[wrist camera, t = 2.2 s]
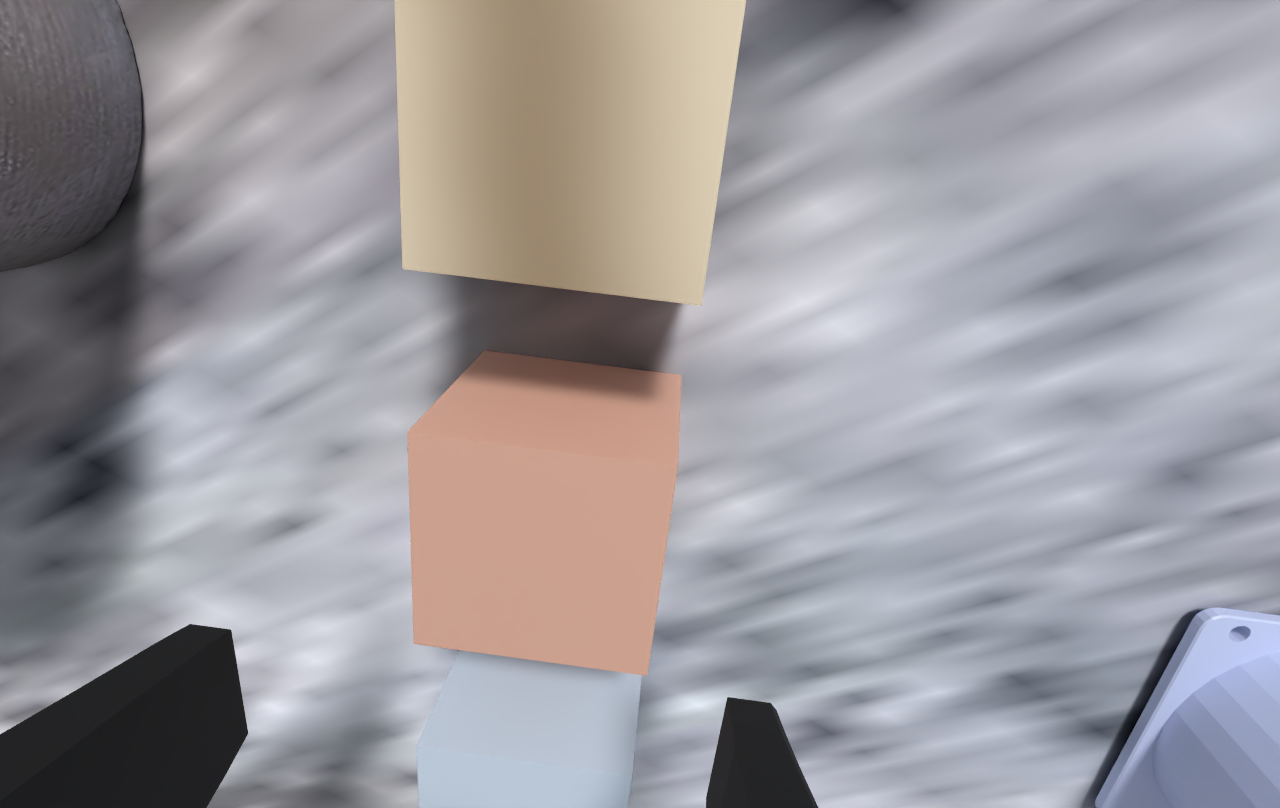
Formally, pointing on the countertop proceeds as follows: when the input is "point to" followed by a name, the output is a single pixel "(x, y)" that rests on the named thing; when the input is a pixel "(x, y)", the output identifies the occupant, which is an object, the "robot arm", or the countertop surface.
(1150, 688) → the countertop surface
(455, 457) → the terracotta block
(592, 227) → the maple block
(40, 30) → the pillar candle
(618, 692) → the blue-grey block
